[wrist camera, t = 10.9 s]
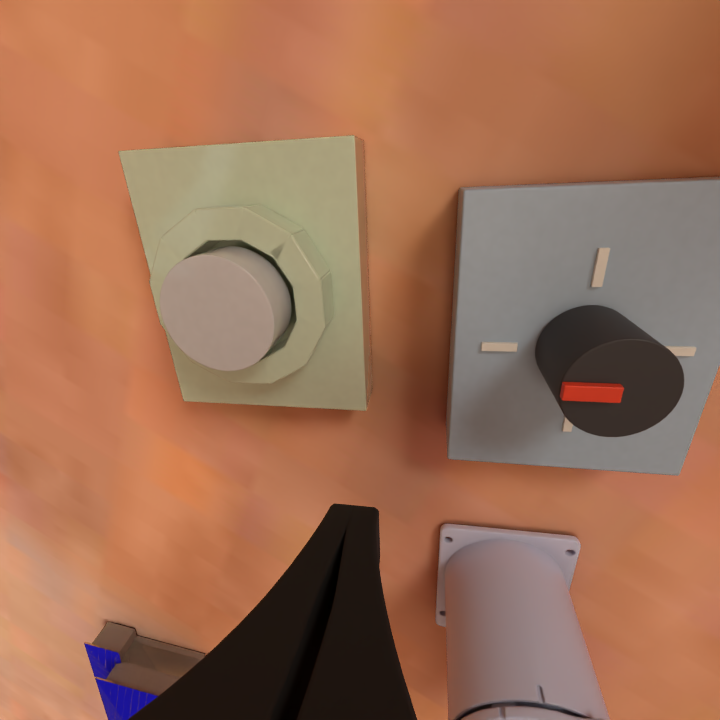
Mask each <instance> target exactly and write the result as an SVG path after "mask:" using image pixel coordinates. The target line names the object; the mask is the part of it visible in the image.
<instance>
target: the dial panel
mask: <svg viewBox="0 0 720 720" xmlns="http://www.w3.org/2000/svg"><path fill="white" fill-rule="evenodd" d="M586 305H598V306H604V307H608V308H611V309H613V310H615V311H617V312H619V313H620V314H622V315H623V316H625V317H626V318H627V319H629V320H630V321H631V322H633V323H634V324H635V325H637V326H638V327H639V328H641V329H642V330H643V331H645V332H646V333H647V334H649V335H650V336H651V337H653V338H654V339H655V340H657V341H658V342H660V343H661V344H662V345H664V346H665V347H666V348H668V349H669V350H670V351H671V352H672V353H673V354H674V355H675V356H676V357H677V359H678V360H679V362H680V364H681V366H682V369H683V372H684V388H683V393H682V395H681V398H680V400H679V402H678V403H677V405H676V407H675V408H674V409H673V410H672V412H671V413H670V414H669V415H668V416H667V417H666V418H664V419H663V420H662V421H661V422H659V423H658V424H656V425H654V426H653V427H651V428H649V429H647V430H645V431H642V432H639V433H636V434H633V435H628V436H623V437H602V436H597V435H592V434H589V433H587V432H584V431H582V430H580V429H579V428H577V427H575V426H574V425H573V424H572V423H571V422H569V420H568V419H567V418H566V417H565V415H564V414H563V412H562V410H561V409H560V407H559V405H558V403H557V401H556V399H555V397H554V396H553V394H552V392H551V390H550V388H549V386H548V384H547V383H546V381H545V379H544V377H543V375H542V373H541V372H540V370H539V368H538V365H537V362H536V358H535V349H536V344H537V341H538V338H539V336H540V334H541V332H542V331H543V329H544V328H545V327H546V326H547V325H548V323H549V322H550V321H552V320H553V319H554V318H555V317H557V316H558V315H560V314H561V313H563V312H565V311H567V310H570V309H573V308H576V307H580V306H586ZM719 365H720V176H719V177H695V178H671V179H648V180H624V181H600V182H576V183H552V184H528V185H504V186H481V187H461V188H459V194H458V212H457V230H456V249H455V267H454V285H453V303H452V322H451V340H450V358H449V376H448V394H447V413H446V439H447V457H448V459H453V460H467V461H481V462H495V463H509V464H523V465H537V466H551V467H565V468H579V469H593V470H607V471H621V472H635V473H649V474H663V475H679V474H680V471H681V469H682V466H683V463H684V460H685V458H686V455H687V452H688V450H689V447H690V444H691V441H692V439H693V436H694V433H695V430H696V428H697V425H698V422H699V420H700V417H701V414H702V411H703V409H704V406H705V403H706V400H707V398H708V395H709V392H710V389H711V387H712V384H713V381H714V379H715V376H716V373H717V370H718V368H719Z"/></svg>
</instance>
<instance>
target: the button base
mask: <svg viewBox="0 0 720 720" xmlns="http://www.w3.org/2000/svg"><path fill="white" fill-rule="evenodd" d="M119 156H120V160H121V164H122V168H123V172H124V175H125V179H126V183H127V187H128V191H129V194H130V198H131V202H132V206H133V210H134V214H135V217H136V221H137V225H138V229H139V233H140V237H141V240H142V244H143V248H144V252H145V256H146V259H147V263H148V267H149V271H150V281H149V283H150V287H151V290H152V294H153V298H154V302H155V305H156V309H157V313H158V317H159V321H160V324H161V325H162V327H163V328H164V329H165V332H166V336H167V340H168V343H169V347H170V351H171V355H172V359H173V363H174V366H175V370H176V374H177V378H178V382H179V385H180V389H181V393H182V397H183V401H189V402H208V403H227V404H246V405H265V406H284V407H303V408H322V409H341V410H359V411H366V410H367V406H368V403H369V400H370V396H371V393H372V364H371V335H370V306H369V277H368V248H367V219H366V190H365V161H364V140H362V139H360V138H358V137H356V136H354V135H349V136H334V137H319V138H304V139H289V140H274V141H259V142H244V143H229V144H214V145H199V146H184V147H169V148H154V149H139V150H124V151H119ZM224 246H237V247H242V248H246V249H249V250H251V251H254V252H256V253H258V254H259V255H261V256H262V257H264V258H265V259H266V260H268V261H269V262H270V263H271V264H272V265H273V266H274V267H275V268H276V269H277V271H278V272H279V273H280V274H281V276H282V278H283V279H284V281H285V283H286V286H287V288H288V291H289V294H290V299H291V318H290V323H289V325H288V328H287V330H286V332H285V333H284V335H283V336H282V337H281V339H280V340H279V341H278V342H277V343H276V344H275V345H274V346H273V347H272V348H271V349H270V350H269V351H268V352H267V354H266V355H265V356H264V357H263V358H262V359H261V360H260V361H258V362H257V363H256V364H254V365H252V366H250V367H248V368H245V369H242V370H237V371H221V370H216V369H212V368H209V367H206V366H204V365H202V364H200V363H198V362H196V361H195V360H193V359H192V358H190V357H189V356H188V355H186V354H185V353H184V352H183V351H182V350H181V349H180V348H179V347H178V346H177V344H176V343H175V342H174V341H173V339H172V338H171V336H170V334H169V333H168V331H167V329H166V327H165V325H164V322H163V319H162V315H161V310H160V292H161V287H162V284H163V281H164V279H165V277H166V276H167V274H168V273H169V271H170V270H171V269H172V268H173V267H174V266H175V265H176V264H177V263H179V262H180V261H182V260H184V259H186V258H189V257H191V256H194V255H197V254H200V253H203V252H206V251H209V250H212V249H215V248H219V247H224Z"/></svg>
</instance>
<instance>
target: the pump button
mask: <svg viewBox="0 0 720 720" xmlns="http://www.w3.org/2000/svg"><path fill="white" fill-rule="evenodd" d="M160 310H161V315H162V319H163V322H164V325H165V327H166V329H167V331H168V333H169V334H170V336H171V338H172V339H173V341H174V342H175V343H176V344H177V346H178V347H179V348H180V349H181V350H182V351H183V352H184V353H185V354H186V355H188V356H189V357H190V358H192V359H193V360H195V361H196V362H198V363H200V364H202V365H204V366H206V367H209V368H212V369H216V370H221V371H237V370H242V369H245V368H248V367H250V366H252V365H254V364H256V363H257V362H258V361H260V360H261V359H262V358H263V357H264V356H265V355H266V354H267V352H268V351H269V350H270V349H271V348H272V347H273V346H274V345H275V344H276V343H277V342H278V341H279V340H280V339H281V337H282V336H283V335H284V333H285V332H286V330H287V328H288V325H289V323H290V318H291V299H290V294H289V291H288V288H287V286H286V283H285V281H284V279H283V278H282V276H281V274H280V273H279V272H278V271H277V269H276V268H275V267H274V266H273V265H272V264H271V263H270V262H269V261H268V260H266V259H265V258H264V257H262V256H261V255H259V254H258V253H256V252H254V251H251V250H249V249H246V248H242V247H237V246H224V247H219V248H215V249H212V250H209V251H206V252H203V253H200V254H197V255H194V256H191V257H189V258H186V259H184V260H182V261H180V262H179V263H177V264H176V265H175V266H174V267H173V268H172V269H171V270H170V271H169V273H168V274H167V276H166V277H165V279H164V281H163V284H162V287H161V292H160Z"/></svg>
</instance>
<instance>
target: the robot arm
mask: <svg viewBox="0 0 720 720" xmlns="http://www.w3.org/2000/svg"><path fill="white" fill-rule="evenodd" d="M447 537H450V538H447ZM580 547H581V544H580V542H579V540H578V538H576V537H575V536H570V535H560V534H550V533H540V532H530V531H520V530H509V529H499V528H489V527H479V526H469V525H458V524H444V525H442V526H441V528H440V543H439V561H438V579H437V597H436V615H435V621H436V623H437V624H438V625H439V626H443V627H446V649H447V688H448V720H610V718H609V715H608V712H607V708H606V705H605V702H604V699H603V696H602V693H601V690H600V687H599V684H598V681H597V677H596V674H595V671H594V668H593V665H592V662H591V659H590V656H589V653H588V650H587V646H586V643H585V640H584V637H583V634H582V631H581V628H580V625H579V622H578V619H577V616H576V612H575V609H574V606H573V603H572V600H571V597H570V594H569V590H570V586H571V582H572V578H573V574H574V570H575V567H576V563H577V559H578V555H579V551H580ZM379 562H380V537H379V511H378V510H377V509H376V508H375V507H365V506H354V505H344V504H333V505H332V506H331V507H330V509H329V510H328V512H327V514H326V515H325V517H324V518H323V520H322V522H321V523H320V525H319V526H318V528H317V529H316V531H315V532H314V534H313V535H312V537H311V538H310V540H309V541H308V542H307V544H306V545H305V546H304V548H303V549H302V551H301V552H300V553H299V555H298V556H297V557H296V559H295V560H294V561H293V563H292V564H291V565H290V567H289V568H288V569H287V570H286V572H285V573H284V574H283V575H282V576H281V578H280V579H279V580H278V581H277V583H276V584H275V585H274V586H273V587H272V589H271V590H270V591H269V592H268V593H267V594H266V596H265V597H264V598H263V599H262V600H261V601H260V602H259V603H258V605H257V606H256V607H255V608H254V609H253V610H252V611H251V612H250V613H249V614H248V615H247V616H246V617H245V618H244V620H243V621H242V622H241V623H240V624H239V625H238V626H237V627H236V628H235V629H234V630H232V631H231V632H230V633H229V634H228V635H227V636H226V637H225V638H224V639H223V640H222V641H221V642H220V643H219V644H218V645H217V646H216V647H215V648H214V649H213V650H212V651H211V652H210V653H208V654H207V655H206V656H205V657H204V658H203V659H202V660H201V661H199V662H198V663H197V664H196V665H195V666H194V667H192V668H191V669H190V670H189V671H188V672H187V673H185V674H184V675H183V676H182V677H181V678H180V679H178V680H177V681H176V682H175V683H174V684H173V685H171V686H170V687H169V688H168V689H167V690H165V691H164V692H163V693H162V694H160V695H159V696H158V697H156V698H155V699H154V700H153V701H151V702H150V703H149V704H147V705H146V706H145V707H143V708H142V709H141V710H139V711H138V712H137V713H135V714H134V715H133V716H131V717H130V718H129V719H128V720H417V718H416V714H415V711H414V708H413V705H412V702H411V698H410V695H409V692H408V689H407V686H406V683H405V679H404V676H403V673H402V669H401V666H400V662H399V659H398V655H397V651H396V648H395V644H394V640H393V636H392V632H391V628H390V623H389V619H388V615H387V610H386V605H385V600H384V595H383V589H382V583H381V577H380V570H379Z"/></svg>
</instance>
